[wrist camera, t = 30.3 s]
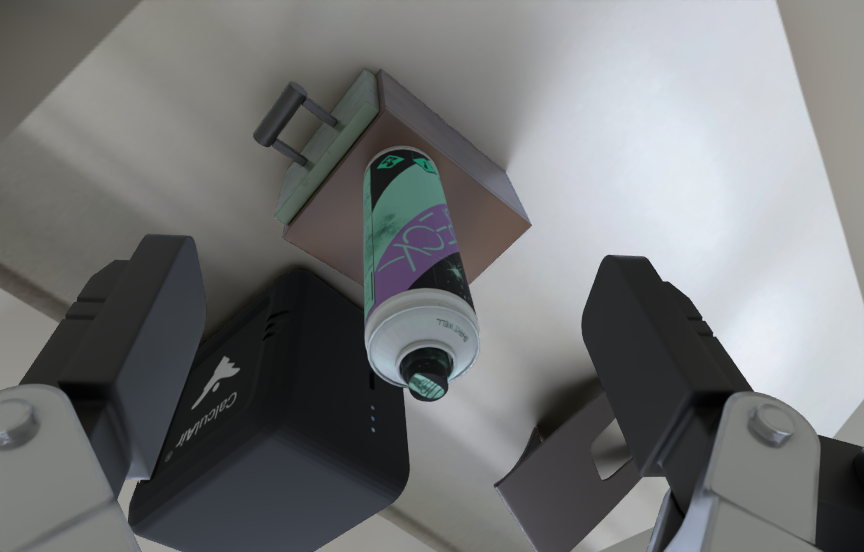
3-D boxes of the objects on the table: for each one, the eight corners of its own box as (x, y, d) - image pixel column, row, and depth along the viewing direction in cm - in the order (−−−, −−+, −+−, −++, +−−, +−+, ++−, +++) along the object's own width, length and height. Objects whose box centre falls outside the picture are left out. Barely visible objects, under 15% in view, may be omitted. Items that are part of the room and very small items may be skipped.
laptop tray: (625, 430, 85) (675, 468, 78) (516, 534, 80) (559, 584, 73) (593, 332, 72) (650, 366, 65) (460, 449, 67) (506, 500, 60)
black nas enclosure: (297, 249, 53) (270, 410, 37) (400, 327, 60) (414, 491, 44) (173, 359, 60) (104, 537, 44) (279, 418, 67) (253, 590, 51)
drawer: (240, 143, 46) (221, 186, 39) (319, 30, 41) (312, 58, 35) (404, 251, 54) (411, 301, 47) (485, 167, 49) (504, 209, 43)
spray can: (435, 215, 42) (482, 429, 25) (362, 213, 41) (363, 432, 25) (442, 146, 38) (502, 341, 22) (363, 143, 38) (366, 342, 22)
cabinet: (293, 180, 49) (281, 237, 41) (381, 68, 44) (386, 109, 36) (418, 262, 56) (427, 324, 48) (506, 172, 51) (532, 225, 43)
